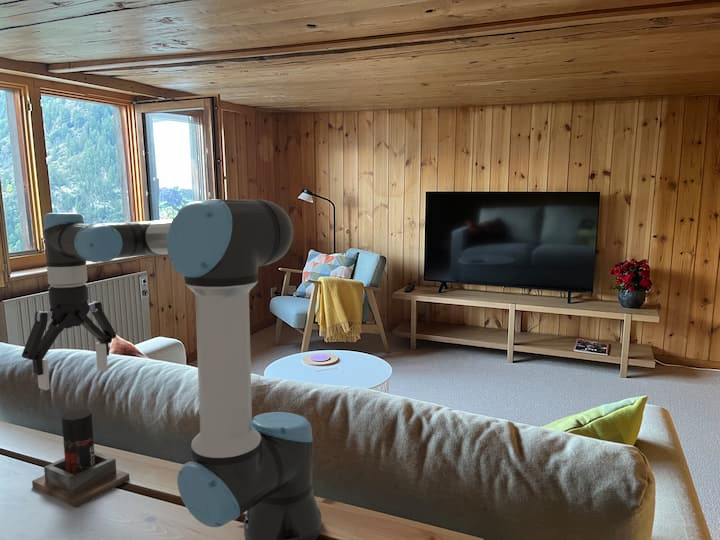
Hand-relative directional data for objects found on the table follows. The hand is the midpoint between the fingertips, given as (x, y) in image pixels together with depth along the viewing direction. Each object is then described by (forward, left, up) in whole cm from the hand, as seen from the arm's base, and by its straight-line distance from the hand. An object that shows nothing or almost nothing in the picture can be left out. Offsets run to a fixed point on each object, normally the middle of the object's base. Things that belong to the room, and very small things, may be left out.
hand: (74, 379), depth 121 cm
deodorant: (0, 0, -23) cm, 23 cm away
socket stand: (0, 0, -25) cm, 25 cm away
